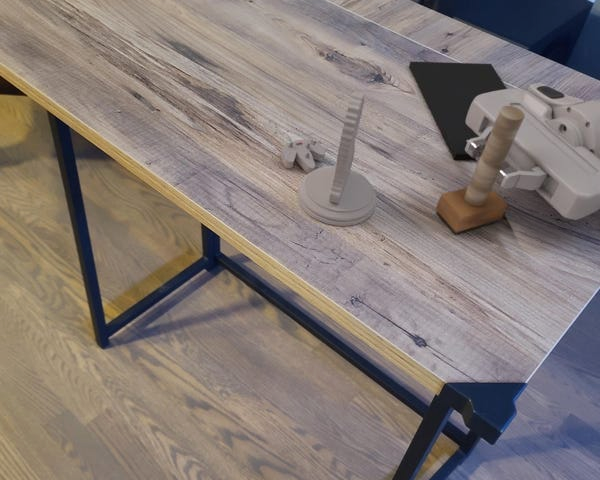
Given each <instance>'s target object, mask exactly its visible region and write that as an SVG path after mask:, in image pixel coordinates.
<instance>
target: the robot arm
mask: <svg viewBox="0 0 600 480" xmlns="http://www.w3.org/2000/svg"><path fill="white" fill-rule="evenodd" d="M504 106H513V107H516V108H518V109H520V110H521V111H523V113H524V114H525V117H524V119H523V122H522V124H521V126H520V128H519V130H518V133H517V135H516V137H515V139H514V141H513V143H512V146H511V148H510V150H509V152H508V154H507V156H506V159H505V161H504V163H506V164H507V165H508V167H506V168H505V167H504V168H501V170H500V171H499V173H498V176H497V177H496V179H495V183H497V184H498V185H499V186H500V187H501V188H502V189H503V190H507V189H511V188H516V189H521V190H525V191H530V192H531V191H536V193H537V194H539V195H540V196H541V197H542V198H543V199H544V200H545V201H546V202H547V203H548V204H549V205H550V206H551V207H552V208H554V210H555V211H556V212H558V213H559V214H560V216H562V217H563V218H565V219H568V220H574V221H577V220H580V219H583V218H585V217H587V216H590V215H591V214H594V213H595V212H597V211H598V210H600V99H589V100H584V99H583V98H579V97H575V96H571V95H568V94H566V93H564V92H561V91H559V90H557V89H554V88H553V87H550V86H548V85H546V84H545V83H542V82H534V83H531V84H529V85H528V87H527V89H522V88H513V87H511V88H507V89H504V90H498V91H493V92H488V93H484V94H481V95H478V96H476V97H475V98H474V100H473V102H472V103H471V106H470V108H469V111H468V114H467V117H466V124H467V126H469V127H470V128H471V129H472V130H473V131H474V132H475V133H476V134H477V135H478V136H479V137H476V138H472V139H470V140H467V145H466V147H465V151H466V152H467V153H468V154H469V155H470V156H471V157H472V158H476V159H477V158H480V157H481V155H482V152H483V150H484V148H485V145H486V143H487V140H488V138H489V136H490V133H491V131H492V128H493V126H494V124H495V121H496V119H497V117H498V114H499V112H500V109H501V108H502V107H504Z"/></svg>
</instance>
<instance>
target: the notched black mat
mask: <svg viewBox="0 0 600 480" xmlns="http://www.w3.org/2000/svg"><path fill="white" fill-rule="evenodd" d="M408 68H409V70H410V72H411V74H412V77H413V78H414V80H415V83H416V85H417V87H418V90H419V91H420V93H421V96H423V99H424V101H425V103H426V105H427V107H428V109H429V112H430V114H431V116H432V118H433V120H434V122H435V124H436V126H437V128H438V129H439V132H440V134H441V136H442V138H443V140H444V143H445V145H446V147H447V149H448V151H449V153H450V155H451V157H452V159H453V160H454V161H463V160H464V161H477V157H476V158H472V157H471V156H470V155H469V154H468V153H467V152H466V151H465V147H466V145H467V142H468V141H469V140H470V139H472V138H476V137H479V136H478V135H477V134H476V133H475V132H474V131H473V130H472V129H471V128H470V127H469V126H467V124H466V117H467V114H468V111H469V108H470V106H471V103H472V102H473V100H474V98H475V97H476V96H478V95H481V94H484V93H488V92H493V91H498V90H504V89H508V88H507V86H506V85H505V83H504V82H503V80H502V78H501V76H500V75H499V74H498V73H497V71H496V69H495V68H494V66H493V65H492V63H472V62H443V61H441V62H440V61H409V65H408Z"/></svg>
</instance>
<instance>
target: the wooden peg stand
mask: <svg viewBox="0 0 600 480" xmlns="http://www.w3.org/2000/svg"><path fill="white" fill-rule="evenodd" d="M524 117H525V114H524V113H523V111H521V110H520V109H518V108H516V107H513V106H504V107H502V108H501V109H500V112H499V114H498V117H497V119H496V121H495V124H494V126H493V128H492V131H491V133H490V136H489V138H488V140H487V143H486V145H485V148H484V150H483V152H482V155H481V157H479V159H478V162H477V164H476V167H475V169H474V171H473V174H472V177H471V179H470V181H469V183H468V186H467V187H463V188H459V189H457V190H456V189H455V190H453V191H449V192H445V193H441V194H440V196H439V199H438V202H437V204H436V206H435V211H436V215H437V217H439V218H440V219H441V221H442V222H443V223H444V224H445V225H446V226H447V227H448V228H449V230H450V231H451V232H452V233H453V234H454V235H459V234H461V233H466V232H468V231H472V230H474V229H478V228H482V227H485V226H489V225H492V224H495V223H497V222H498V221H500V220H501V219H502V218H503V216H504V214H505V212H506V209H507V208H508V205H509V204H508V203H507V202H506V201H505V200H504V199H503V198H502V197H501V196H500V195H499V194H498V193H497V192H496V191H495V190H494V189H493V187H494V185H495V183H496V181H495V179H496V177H498V173H499V171H500V170H501V169H502V167H503V165H504V163H505V159H506V156H507V154H508V152H509V150H510V148H511V146H512V143H513V141H514V139H515V137H516V135H517V133H518V130H519V128H520V126H521V124H522V122H523V119H524Z"/></svg>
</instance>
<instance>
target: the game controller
mask: <svg viewBox="0 0 600 480" xmlns="http://www.w3.org/2000/svg"><path fill="white" fill-rule="evenodd" d="M270 122H272V123H273V124H274V125H275V128H276V130H277V131H278V133H280V134H281V135H284V134H285V135H286V136H287V137H288V138H289V139H288V140H289V143H286V144H285V145H284V146H283V147H282V148H281V153H280V158H281V161H282V164H283V166H284V167H285V168H287V169H292V168H293V166H294V163H295V161H296V163H297V164H298V165H299V166H300V167H301V168H302V170H303V171H304V172H305V173H306V174H309V173H310V172H312V171H314V170H315V169H316V168H315V167H316V162H315V160H316V161H318V162H322V161H324V159H325V155H326V150H325V148H324V147H323V146H322V144H321V143H320V142H318V141H317V140H315V139H309V138H305V139H297V140H294V141H292V139H291V138H290V136H289V134H287V133H286V132H281V131H280V129H278V126H277V124H276V122H275V121H273V120H272V119H270ZM295 159H296V160H295Z"/></svg>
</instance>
